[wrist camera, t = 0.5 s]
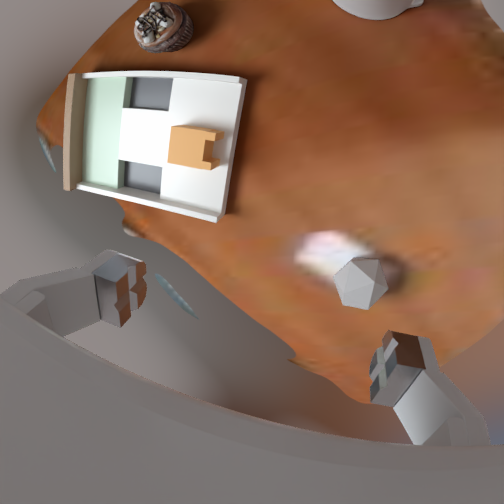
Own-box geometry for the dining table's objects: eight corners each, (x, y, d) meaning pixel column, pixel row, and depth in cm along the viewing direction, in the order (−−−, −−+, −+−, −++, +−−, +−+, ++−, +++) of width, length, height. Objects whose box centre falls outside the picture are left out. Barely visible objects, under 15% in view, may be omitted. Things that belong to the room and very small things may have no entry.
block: (182, 124, 47) (171, 126, 44) (224, 131, 46) (215, 132, 43) (178, 158, 50) (167, 162, 46) (219, 166, 49) (210, 171, 45)
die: (324, 271, 56) (335, 322, 51) (339, 244, 48) (354, 301, 43) (365, 268, 57) (378, 316, 52) (383, 242, 49) (401, 295, 44)
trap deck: (90, 74, 49) (68, 74, 43) (247, 79, 44) (235, 75, 38) (83, 181, 60) (63, 189, 54) (224, 214, 55) (212, 227, 49)
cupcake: (175, 1, 39) (146, -15, 31) (209, 27, 41) (183, 12, 32) (142, 38, 44) (108, 30, 35) (172, 66, 45) (141, 60, 37)
